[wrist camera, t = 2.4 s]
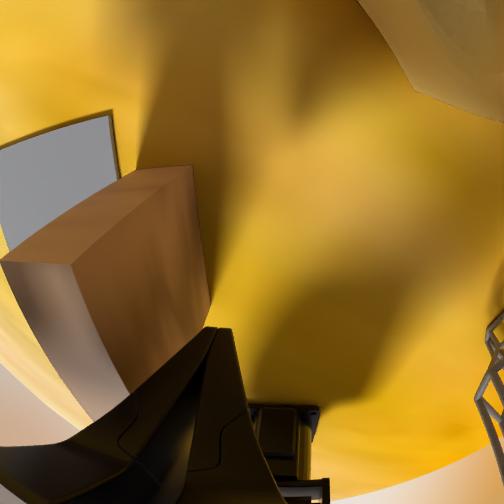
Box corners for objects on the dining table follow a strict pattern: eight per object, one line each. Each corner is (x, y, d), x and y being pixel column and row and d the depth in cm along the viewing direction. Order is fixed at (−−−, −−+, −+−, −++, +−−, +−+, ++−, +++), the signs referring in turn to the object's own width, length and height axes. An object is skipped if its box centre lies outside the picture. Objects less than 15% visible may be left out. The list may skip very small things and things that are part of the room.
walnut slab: (211, 305, 17) (162, 445, 9) (163, 301, 17) (98, 427, 10) (192, 164, 13) (70, 264, 5) (136, 169, 14) (-1, 260, 6)
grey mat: (159, 336, 19) (157, 339, 19) (40, 316, 20) (38, 318, 20) (111, 114, 12) (107, 115, 12) (-13, 155, 14) (-16, 156, 14)
